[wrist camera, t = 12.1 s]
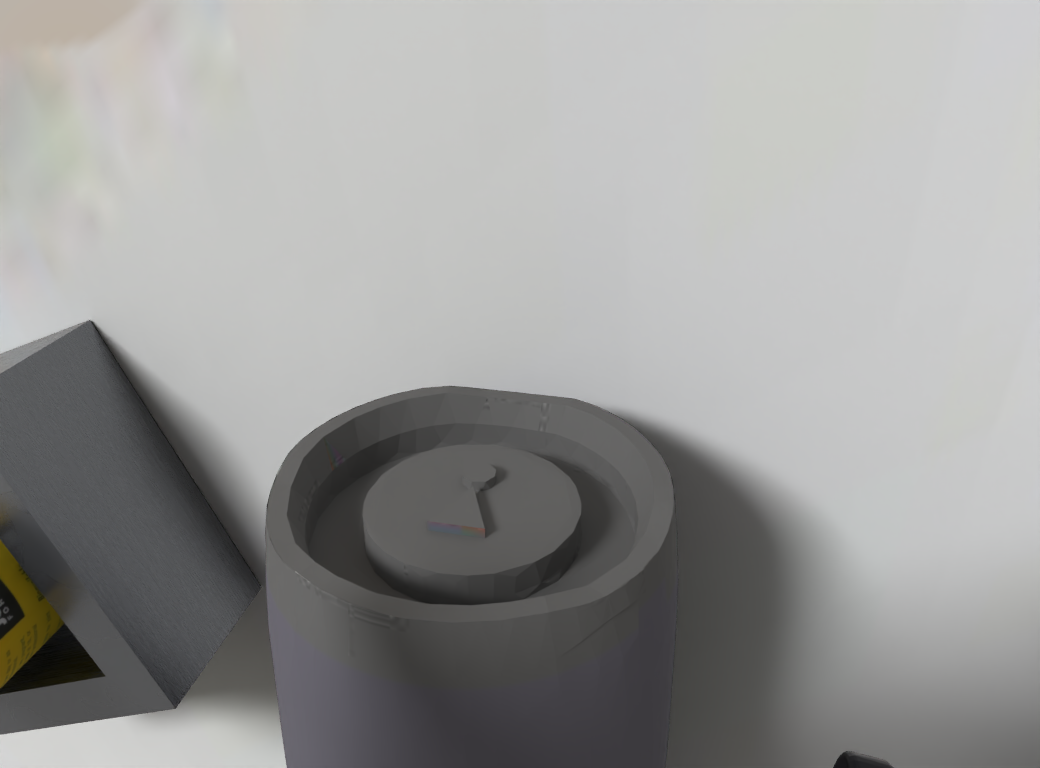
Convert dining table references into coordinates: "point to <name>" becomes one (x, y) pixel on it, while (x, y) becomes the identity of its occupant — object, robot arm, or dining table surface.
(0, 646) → the supplement bottle
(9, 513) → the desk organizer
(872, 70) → the dining table surface
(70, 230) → the dining table surface
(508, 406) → the bluetooth speaker
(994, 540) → the dining table surface
